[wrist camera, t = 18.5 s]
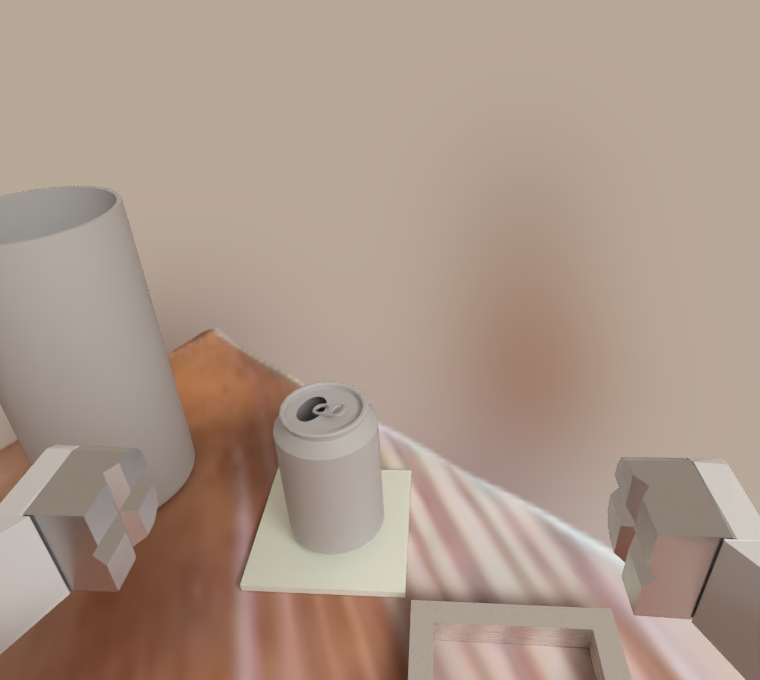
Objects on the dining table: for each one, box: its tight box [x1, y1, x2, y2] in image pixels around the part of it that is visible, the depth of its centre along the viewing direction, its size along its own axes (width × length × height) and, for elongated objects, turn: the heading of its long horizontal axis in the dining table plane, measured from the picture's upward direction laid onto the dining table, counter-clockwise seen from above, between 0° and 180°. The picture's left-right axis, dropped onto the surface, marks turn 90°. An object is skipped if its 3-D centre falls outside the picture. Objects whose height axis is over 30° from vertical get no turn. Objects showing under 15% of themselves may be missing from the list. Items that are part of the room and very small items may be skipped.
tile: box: [240, 467, 412, 598], centre depth 47 cm, size 12×12×1 cm
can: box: [273, 381, 384, 555], centre depth 43 cm, size 8×8×12 cm
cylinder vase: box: [0, 186, 195, 507], centre depth 46 cm, size 12×12×25 cm
